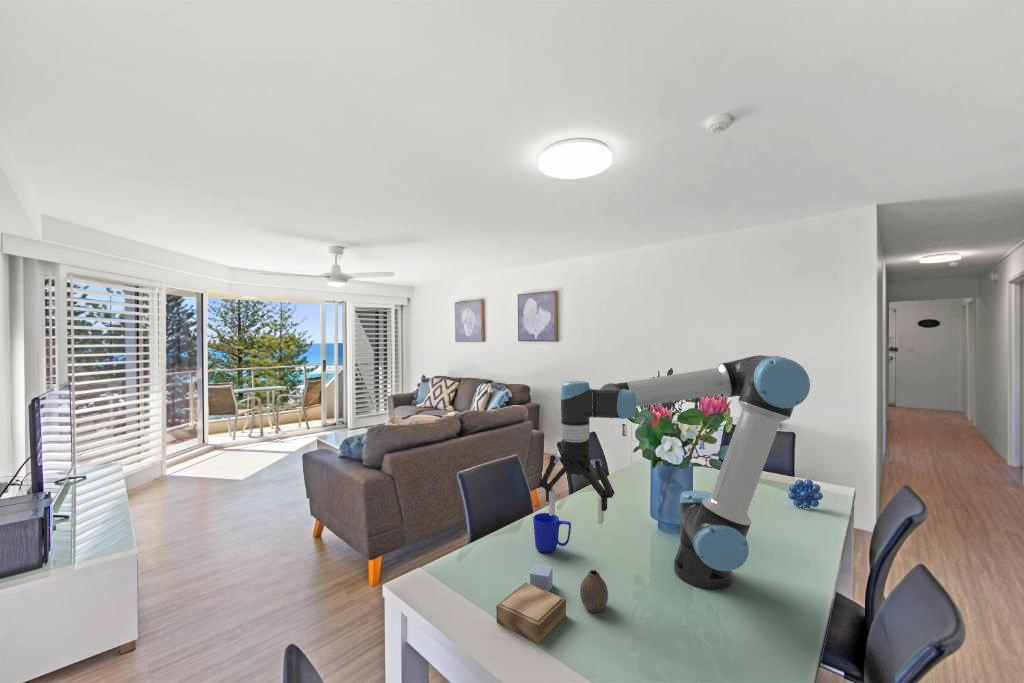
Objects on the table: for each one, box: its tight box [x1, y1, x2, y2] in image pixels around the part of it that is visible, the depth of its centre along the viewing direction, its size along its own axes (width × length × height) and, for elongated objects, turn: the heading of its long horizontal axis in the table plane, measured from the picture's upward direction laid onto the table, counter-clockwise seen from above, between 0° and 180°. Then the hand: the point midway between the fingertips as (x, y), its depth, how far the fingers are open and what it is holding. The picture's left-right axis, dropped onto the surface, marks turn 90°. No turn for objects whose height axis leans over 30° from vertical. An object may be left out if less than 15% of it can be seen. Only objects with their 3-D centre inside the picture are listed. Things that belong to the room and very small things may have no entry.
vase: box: [579, 569, 609, 613], centre depth 107 cm, size 7×7×9 cm
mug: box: [532, 512, 572, 554], centre depth 137 cm, size 8×12×10 cm
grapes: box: [787, 478, 824, 509], centre depth 169 cm, size 12×7×12 cm, turn 41°
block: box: [529, 563, 554, 593], centre depth 115 cm, size 5×5×5 cm
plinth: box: [495, 582, 567, 644], centre depth 103 cm, size 12×12×4 cm
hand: (575, 518), depth 115 cm, fingers open, 13 cm apart
